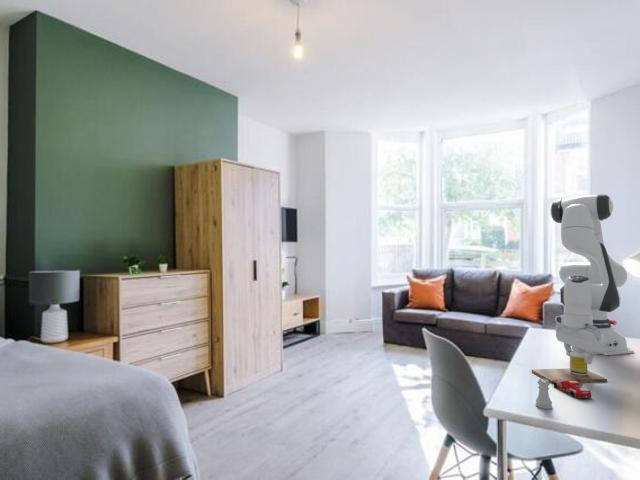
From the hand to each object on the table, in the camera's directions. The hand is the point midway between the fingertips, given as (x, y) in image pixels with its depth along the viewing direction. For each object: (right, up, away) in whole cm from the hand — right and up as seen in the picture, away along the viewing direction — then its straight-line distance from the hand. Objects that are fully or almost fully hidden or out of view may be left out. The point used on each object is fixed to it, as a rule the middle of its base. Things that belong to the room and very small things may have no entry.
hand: (578, 359), depth 146 cm
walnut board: (-4, -6, 0) cm, 7 cm away
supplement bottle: (0, -5, 0) cm, 5 cm away
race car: (-12, -7, -15) cm, 20 cm away
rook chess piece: (-27, -7, -26) cm, 37 cm away
